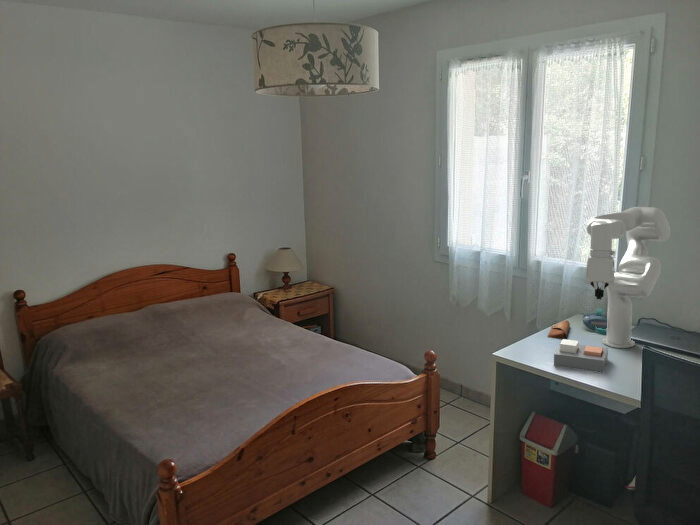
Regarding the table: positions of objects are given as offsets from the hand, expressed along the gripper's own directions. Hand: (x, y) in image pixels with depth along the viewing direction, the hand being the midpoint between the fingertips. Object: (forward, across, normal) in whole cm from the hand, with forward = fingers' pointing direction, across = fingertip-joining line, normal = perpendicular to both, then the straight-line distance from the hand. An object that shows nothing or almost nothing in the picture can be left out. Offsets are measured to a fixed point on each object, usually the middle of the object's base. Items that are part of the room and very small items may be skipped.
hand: (599, 298), depth 215 cm
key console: (+25, +5, +8) cm, 27 cm away
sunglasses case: (+26, +20, -26) cm, 41 cm away
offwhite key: (+21, +9, +8) cm, 24 cm away
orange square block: (+22, 0, +8) cm, 24 cm away
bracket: (+26, +2, -38) cm, 46 cm away
